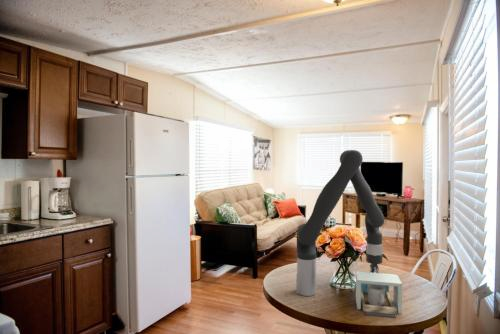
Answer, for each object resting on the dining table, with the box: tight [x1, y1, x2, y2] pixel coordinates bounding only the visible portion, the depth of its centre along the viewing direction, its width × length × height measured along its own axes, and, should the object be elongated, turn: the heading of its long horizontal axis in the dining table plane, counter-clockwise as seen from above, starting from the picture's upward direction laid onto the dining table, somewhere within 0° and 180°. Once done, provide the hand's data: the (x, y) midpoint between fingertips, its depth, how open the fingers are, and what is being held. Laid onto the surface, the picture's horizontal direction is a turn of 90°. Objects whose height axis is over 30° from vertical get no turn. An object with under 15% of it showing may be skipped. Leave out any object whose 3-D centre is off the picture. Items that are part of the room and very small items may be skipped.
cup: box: [366, 284, 386, 306], centre depth 152 cm, size 11×8×8 cm
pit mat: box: [364, 311, 397, 319], centre depth 142 cm, size 12×2×1 cm, turn 76°
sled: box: [361, 283, 398, 316], centre depth 156 cm, size 13×24×9 cm, turn 166°
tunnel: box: [355, 270, 403, 315], centre depth 152 cm, size 18×12×13 cm, turn 76°
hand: (373, 287), depth 166 cm, fingers closed on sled
